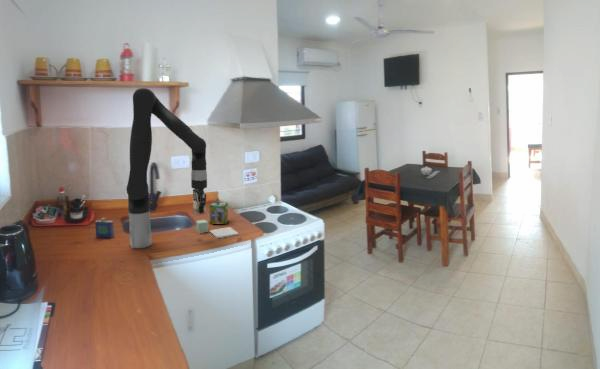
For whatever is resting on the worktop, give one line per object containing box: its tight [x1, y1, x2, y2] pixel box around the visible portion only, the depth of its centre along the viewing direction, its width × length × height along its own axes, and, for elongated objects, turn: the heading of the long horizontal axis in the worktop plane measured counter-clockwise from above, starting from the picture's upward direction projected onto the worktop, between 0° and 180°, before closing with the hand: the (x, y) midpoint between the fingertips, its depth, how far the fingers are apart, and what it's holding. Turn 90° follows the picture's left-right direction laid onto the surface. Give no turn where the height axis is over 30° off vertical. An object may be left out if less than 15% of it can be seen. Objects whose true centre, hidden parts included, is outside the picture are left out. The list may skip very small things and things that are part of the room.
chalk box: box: [208, 197, 229, 225], centre depth 215 cm, size 9×9×15 cm
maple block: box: [192, 200, 207, 216], centre depth 183 cm, size 5×5×6 cm
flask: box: [94, 217, 115, 240], centre depth 187 cm, size 9×3×11 cm, turn 87°
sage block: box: [195, 219, 209, 234], centre depth 200 cm, size 5×5×6 cm
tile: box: [208, 226, 240, 239], centre depth 198 cm, size 12×12×1 cm
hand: (199, 211), depth 184 cm, fingers closed on maple block, 5 cm apart
